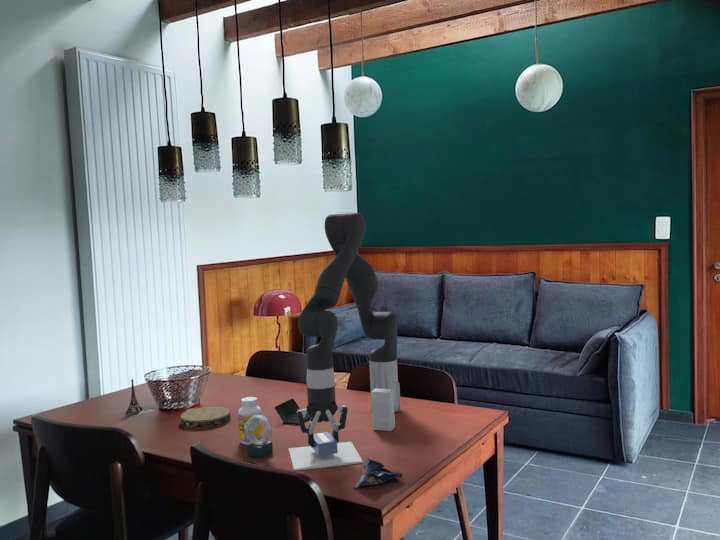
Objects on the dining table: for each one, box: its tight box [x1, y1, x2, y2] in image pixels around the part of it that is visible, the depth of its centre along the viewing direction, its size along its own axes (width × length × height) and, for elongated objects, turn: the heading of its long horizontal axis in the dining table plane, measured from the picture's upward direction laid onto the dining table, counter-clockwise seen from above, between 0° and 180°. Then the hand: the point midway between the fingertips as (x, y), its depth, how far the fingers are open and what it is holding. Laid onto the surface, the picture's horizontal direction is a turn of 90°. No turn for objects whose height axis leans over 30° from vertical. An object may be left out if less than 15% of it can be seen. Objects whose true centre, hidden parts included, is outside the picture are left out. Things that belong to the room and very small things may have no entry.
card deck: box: [313, 431, 338, 456], centre depth 174 cm, size 9×5×3 cm, turn 18°
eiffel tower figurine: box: [119, 378, 155, 421], centre depth 226 cm, size 15×10×13 cm
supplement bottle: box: [237, 396, 263, 446], centre depth 189 cm, size 7×7×13 cm
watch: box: [244, 414, 274, 460], centre depth 177 cm, size 6×8×11 cm
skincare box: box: [370, 388, 396, 432], centre depth 195 cm, size 6×4×12 cm
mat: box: [287, 441, 364, 472], centre depth 174 cm, size 18×16×1 cm
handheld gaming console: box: [274, 398, 311, 426], centre depth 210 cm, size 12×7×10 cm
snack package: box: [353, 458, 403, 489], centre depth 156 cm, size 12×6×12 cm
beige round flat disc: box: [180, 406, 231, 429], centre depth 212 cm, size 16×16×3 cm
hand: (323, 445), depth 174 cm, fingers closed on card deck, 5 cm apart
